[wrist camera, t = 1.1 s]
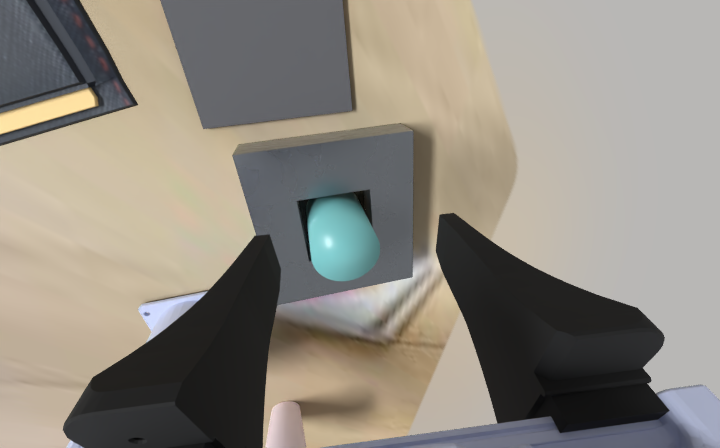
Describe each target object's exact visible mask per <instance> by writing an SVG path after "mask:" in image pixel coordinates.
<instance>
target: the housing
mask: <svg viewBox="0 0 720 448" xmlns="http://www.w3.org/2000/svg"><path fill="white" fill-rule="evenodd" d="M232 156H233V159H234V162H235V166H236V169H237V172H238V176H239V179H240V182H241V186H242V189H243V192H244V196H245V199H246V202H247V206H248V209H249V212H250V216H251V219H252V222H253V226H254V229H255V232H256V236H258V235H267V234H270V237H271V240H272V243H273V246H274V249H275V252H276V255H277V258H278V261H279V264H280V267H281V280H280V292H279V297H278V302H277V305H280V304H285V303H290V302H295V301H300V300H304V299H309V298H314V297H319V296H324V295H329V294H333V293H338V292H343V291H348V290H353V289H357V288H362V287H367V286H372V285H377V284H382V283H386V282H391V281H396V280H401V279H406V278H410V277H413V130H411V129H410V128H408V127H406V126H404V125H403V124H401V123H399V124H391V125H384V126H376V127H368V128H361V129H353V130H345V131H338V132H330V133H323V134H315V135H307V136H300V137H292V138H285V139H277V140H269V141H262V142H254V143H247V144H239V145H238V146H237V148H236V150H235V152H234V153H233V155H232ZM362 190H363V194H364V206H365V214H366V216H367V218H368V220H369V222H370V224H371V226H372V228H373V230H374V232H375V234H376V236H377V238H378V240H379V243H380V254H379V258H378V260H377V262H376V264H375V265H374V266H373V268H372V269H371V270H370V271H368V272H367V273H366V274H364V275H363V276H361V277H359V278H356V279H354V280H350V281H334V280H330V279H327V278H325V277H324V276H322V275H321V274H319V273H318V272H317V271H316V269H315V268H314V266H313V264H312V260H311V252H310V243H307V240H306V235H305V230H304V225H303V220H302V215H301V210H300V205H299V201H300V200H306V199H312V198H318V197H325V196H331V195H337V194H343V193H349V192H356V191H362Z"/></svg>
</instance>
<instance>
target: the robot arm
mask: <svg viewBox="0 0 720 448" xmlns="http://www.w3.org/2000/svg"><path fill="white" fill-rule="evenodd" d="M436 253H437V256H438V260H439V263H440V266H441V269H442V272H443V274H444V276H445V278H446V280H447V282H448V285H449V287H450V289H451V291H452V293H453V295H454V297H455V299H456V301H457V304H458V306H459V308H460V310H461V312H462V314H463V316H464V319H465V321H466V324H467V326H468V329H469V332H470V335H471V338H472V341H473V343H474V346H475V349H476V352H477V356H478V358H479V361H480V365H481V368H482V371H483V374H484V378H485V381H486V384H487V388H488V391H489V394H490V398H491V401H492V405H493V408H494V412H495V416H496V419H497V423H498V424H491V425H484V426H476V427H469V428H462V429H454V430H447V431H439V432H432V433H426V434H417V435H410V436H403V437H395V438H388V439H381V440H373V441H366V442H359V443H351V444H344V445H337V446H329V447H322V448H720V400H719V399H718V398H717V397H716V396H715V395H714V394H713V393H712V392H711V391H710V390H709V389H708V388H707V387H706V386H704V385H694V386H688V387H679V388H672V389H667V390H663V391H661V392H658V393H656V394H655V392H654V391H653V390H652V389H651V388H650V387H649V385H648V384H647V383H649V382H651V377H650V376H649V375H648V374H647V373H646V372H645V370H644V369H643V367H644V366H645V365H646V364H647V362H648V361H649V360H651V359H652V358H653V357H654V355H655V354H656V353H657V352H658V351H659V350H660V349H661V347H662V346H663V342H664V338H665V337H664V335H663V333H662V332H661V331H660V330H659V329H658V328H657V327H656V326H655V325H654V324H653V323H652V322H651V321H650V320H649V319H648V318H647V317H646V316H645V315H644V314H643V313H642V312H641V311H640V310H639V309H638V308H635V307H633V306H630V305H626V304H623V303H620V302H617V301H614V300H611V299H608V298H605V297H602V296H599V295H596V294H594V293H591V292H588V291H586V290H583V289H581V288H578V287H576V286H573V285H571V284H568V283H566V282H564V281H562V280H559V279H557V278H555V277H553V276H551V275H548V274H546V273H544V272H542V271H540V270H538V269H536V268H534V267H532V266H531V265H529V264H527V263H525V262H524V261H522V260H520V259H518V258H517V257H515V256H513V255H512V254H510V253H508V252H507V251H505V250H504V249H502V248H501V247H499V246H498V245H496V244H495V243H493V242H492V241H490V240H489V239H488V238H486V237H485V236H483V235H482V234H481V233H479V232H478V231H477V230H475V229H474V228H473V227H472V226H470V225H469V224H468V223H466V222H465V221H464V220H462V219H461V218H460V217H459V216H457V215H456V214H454V213H450V214H441V215H440V216H439V225H438V235H437V244H436ZM280 280H281V267H280V264H279V261H278V258H277V255H276V252H275V249H274V246H273V243H272V240H271V237H270V234H267V235H258V236H254V238H253V239H252V240H251V241H250V243H249V244H248V245H247V246H246V248H245V249H244V250H243V251H242V253H241V254H240V255H239V256H238V258H237V259H236V260H235V261H234V263H233V264H232V265H231V266H230V267H229V269H228V270H227V271H226V272H225V273H224V274H223V276H222V277H221V278H220V279H219V280H218V281H217V282H216V283H215V284H214V285H213V287H212V288H211V289H210V290H209V291H206V292H201V293H196V294H190V295H185V296H180V297H175V298H170V299H165V300H160V301H155V302H149V303H144V304H141V305H140V307H139V309H138V310H139V312H140V314H141V315H142V317H143V318H144V320H145V322H146V323H147V325H148V327H149V328H150V330H151V331H152V332H151V334H150V336H149V338H148V340H147V342H146V343H145V344H144V345H142V346H141V347H140V348H138V349H137V350H135V351H134V352H132V353H131V354H129V355H128V356H126V357H125V358H123V359H122V360H120V361H118V362H117V363H115V364H114V365H112V366H110V367H109V368H107V369H106V370H104V371H102V372H101V373H99V374H98V375H96V376H94V377H93V378H92V380H91V381H90V383H89V384H88V386H87V387H86V389H85V391H84V392H83V394H82V396H81V397H80V399H79V400H78V402H77V404H76V405H75V407H74V409H73V410H72V412H71V413H70V415H69V417H68V418H67V420H66V421H65V423H64V426H63V431H64V433H65V434H66V436H67V438H69V439H70V440H71V441H70V442H69V444H68V446H67V447H66V448H263V419H264V400H265V385H266V372H267V361H268V350H269V343H270V337H271V332H272V327H273V322H274V317H275V312H276V307H277V302H278V297H279V292H280ZM146 312H149V313H146Z"/></svg>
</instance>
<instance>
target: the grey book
mask: <svg viewBox="0 0 720 448" xmlns="http://www.w3.org/2000/svg"><path fill="white" fill-rule="evenodd" d="M136 105H138V104H137V103H136V101H135V99H134V98H133V96H132V94H131V93H130V91H129V89H128V88H127V86H126V84H125V83H124V81H123V79H122V77H121V75H120V73H119V71H118V69H117V67H116V65H115V63H114V61H113V59H112V57H111V55H110V54H109V52H108V50H107V48H106V46H105V44H104V43H103V41H102V39H101V38H100V36H99V34H98V32H97V31H96V29H95V27H94V26H93V24H92V22H91V20H90V19H89V17H88V15H87V13H86V12H85V10H84V8H83V7H82V5H81V3H80V1H79V0H0V146H1V145H4V144H7V143H11V142H14V141H17V140H21V139H24V138H28V137H31V136H34V135H38V134H41V133H44V132H48V131H51V130H55V129H58V128H61V127H65V126H68V125H71V124H75V123H78V122H81V121H85V120H88V119H92V118H95V117H98V116H102V115H105V114H109V113H112V112H115V111H119V110H122V109H125V108H129V107H132V106H136Z"/></svg>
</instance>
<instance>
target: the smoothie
mask: <svg viewBox="0 0 720 448" xmlns="http://www.w3.org/2000/svg"><path fill="white" fill-rule="evenodd" d="M265 448H306V442H305V436H304V429H303V423H302V417H301V411H300V406H299V404H298V403H296V402H292V401H285V402H281V403H279V404H277V405H275V406H274V407H273V408H272V411H271V417H270V423H269V429H268V435H267V441H266V447H265Z"/></svg>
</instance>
